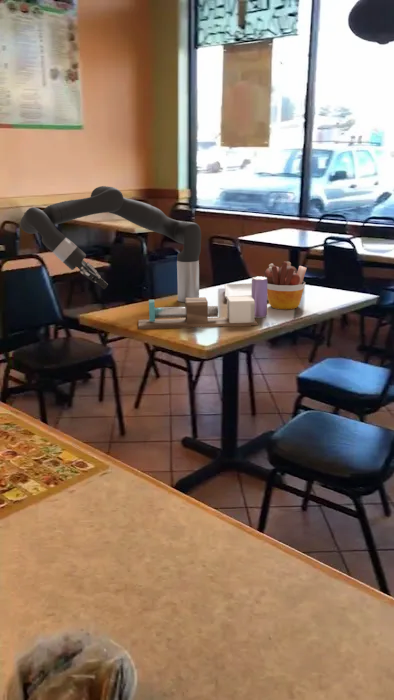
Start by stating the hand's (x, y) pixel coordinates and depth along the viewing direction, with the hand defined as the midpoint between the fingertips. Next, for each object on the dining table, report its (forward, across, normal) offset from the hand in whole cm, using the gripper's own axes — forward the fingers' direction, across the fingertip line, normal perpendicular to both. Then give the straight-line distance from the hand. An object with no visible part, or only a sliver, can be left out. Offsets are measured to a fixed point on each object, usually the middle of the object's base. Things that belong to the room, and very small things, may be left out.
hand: (106, 287), depth 228 cm
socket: (+45, 0, -24) cm, 51 cm away
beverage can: (+51, +9, -30) cm, 60 cm away
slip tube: (+28, 0, -10) cm, 30 cm away
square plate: (+55, +47, -33) cm, 79 cm away
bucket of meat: (+60, +24, -39) cm, 75 cm away
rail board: (+33, 0, -13) cm, 36 cm away
